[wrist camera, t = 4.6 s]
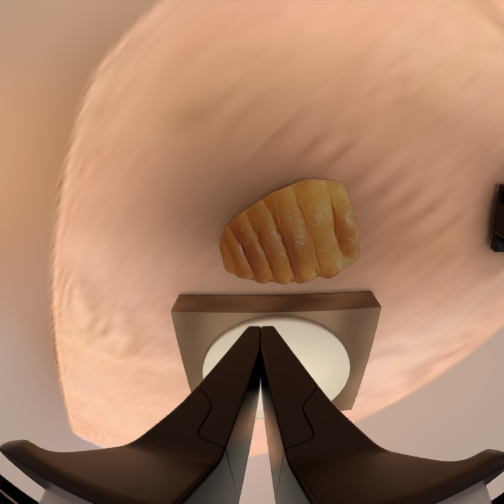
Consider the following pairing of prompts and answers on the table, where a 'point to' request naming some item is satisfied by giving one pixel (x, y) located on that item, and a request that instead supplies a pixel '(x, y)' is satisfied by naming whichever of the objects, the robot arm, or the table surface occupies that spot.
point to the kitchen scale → (284, 334)
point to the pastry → (293, 235)
